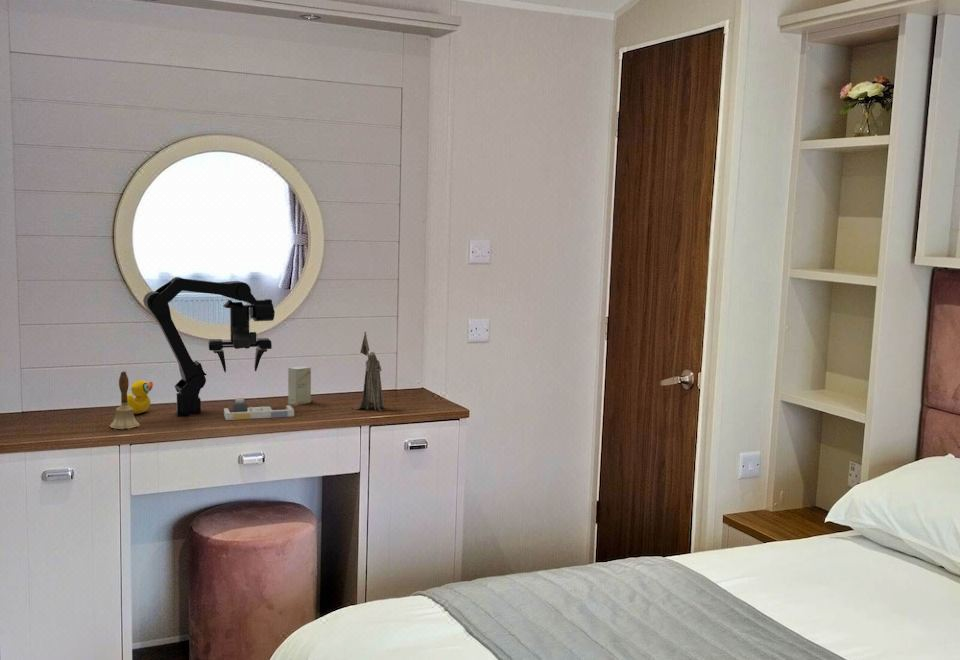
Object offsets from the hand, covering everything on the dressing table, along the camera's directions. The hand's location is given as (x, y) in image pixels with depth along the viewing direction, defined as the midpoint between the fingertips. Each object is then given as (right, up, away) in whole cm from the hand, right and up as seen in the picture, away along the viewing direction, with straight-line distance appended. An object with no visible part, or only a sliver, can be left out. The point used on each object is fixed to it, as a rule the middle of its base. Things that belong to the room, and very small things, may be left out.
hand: (240, 371), depth 295 cm
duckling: (-29, -13, -7) cm, 33 cm away
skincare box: (+16, -11, +11) cm, 23 cm away
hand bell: (-27, -15, -25) cm, 39 cm away
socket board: (+8, -14, -10) cm, 19 cm away
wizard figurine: (+40, -12, +6) cm, 42 cm away
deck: (+5, -12, -1) cm, 13 cm away
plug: (+3, -14, -11) cm, 17 cm away
